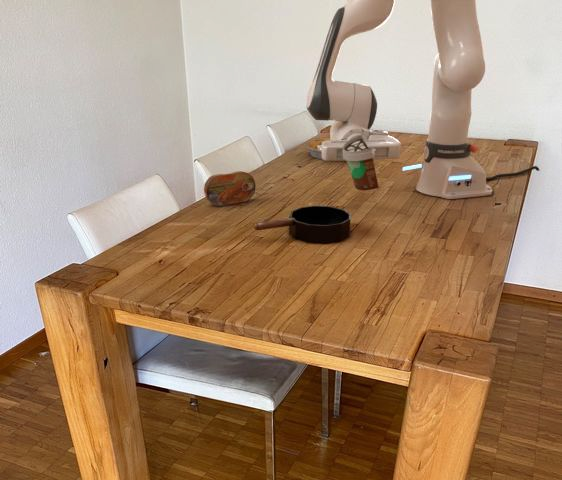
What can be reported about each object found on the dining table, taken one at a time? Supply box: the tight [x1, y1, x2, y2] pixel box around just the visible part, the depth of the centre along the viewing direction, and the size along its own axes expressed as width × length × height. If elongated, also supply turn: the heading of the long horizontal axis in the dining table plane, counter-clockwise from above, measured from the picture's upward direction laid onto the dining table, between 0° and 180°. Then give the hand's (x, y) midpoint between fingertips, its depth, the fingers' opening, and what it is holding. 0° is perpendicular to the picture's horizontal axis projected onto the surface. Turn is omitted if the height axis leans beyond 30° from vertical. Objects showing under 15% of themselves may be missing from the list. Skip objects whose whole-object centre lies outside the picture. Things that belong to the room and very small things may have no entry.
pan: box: [253, 205, 352, 245], centre depth 144 cm, size 25×15×5 cm, turn 112°
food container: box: [343, 135, 379, 191], centre depth 141 cm, size 12×6×10 cm, turn 4°
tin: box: [203, 170, 256, 207], centre depth 164 cm, size 15×3×8 cm, turn 117°
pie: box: [306, 136, 347, 162], centre depth 213 cm, size 22×22×5 cm
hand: (367, 157), depth 143 cm, fingers closed on food container
